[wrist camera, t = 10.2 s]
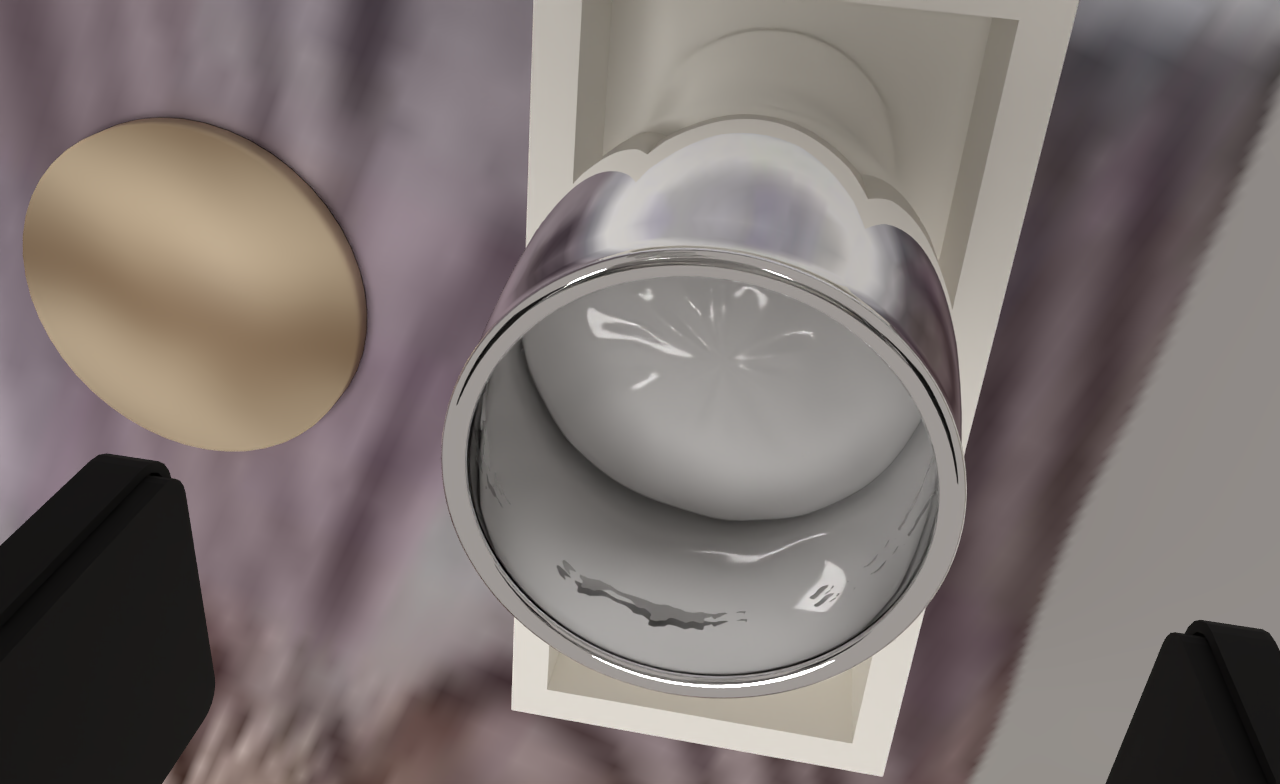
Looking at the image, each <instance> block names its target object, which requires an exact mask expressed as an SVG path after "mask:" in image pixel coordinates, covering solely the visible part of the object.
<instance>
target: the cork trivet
mask: <svg viewBox="0 0 1280 784" xmlns="http://www.w3.org/2000/svg"><path fill="white" fill-rule="evenodd" d="M23 259H24V267H25V274H26V279H27V283H28V287H29V291H30V295H31V298H32V301H33V303H34V306H35V308H36V311H37V314H38V316H39V318H40V320H41V322H42V324H43V326H44V328H45V330H46V332H47V334H48V336H49V338H50V339H51V341H52V342H53V344H54V345H55V347H56V349H57V350H58V352H59V353H60V355H61V356H62V358H63V359H64V360H65V361H66V363H67V364H68V365H69V366H70V368H71V369H72V370H73V371H74V373H75V374H76V375H77V376H78V377H79V378H80V379H81V380H82V381H83V382H84V383H85V384H86V385H87V386H88V387H89V388H90V389H91V390H92V391H93V392H94V393H95V394H96V395H97V396H99V397H100V398H101V399H102V400H103V401H104V402H106V403H107V404H108V405H109V406H111V407H112V408H113V409H115V410H116V411H118V412H119V413H120V414H122V415H123V416H125V417H126V418H128V419H129V420H131V421H133V422H135V423H136V424H138V425H140V426H142V427H143V428H145V429H147V430H149V431H151V432H154V433H156V434H158V435H160V436H162V437H165V438H167V439H170V440H173V441H176V442H179V443H182V444H185V445H189V446H194V447H198V448H203V449H208V450H218V451H250V450H256V449H263V448H267V447H271V446H274V445H277V444H281V443H284V442H286V441H288V440H290V439H292V438H294V437H296V436H299V435H300V434H302V433H303V432H305V431H306V430H308V429H309V428H311V427H312V426H314V425H315V424H316V423H317V422H318V421H319V420H320V419H321V418H322V417H323V416H324V415H325V414H326V413H327V412H328V411H329V410H330V409H331V408H332V407H333V405H334V404H335V403H336V402H337V401H338V399H339V398H340V397H341V395H342V394H343V393H344V391H345V390H346V389H347V387H348V386H349V384H350V382H351V381H352V379H353V377H354V375H355V373H356V371H357V369H358V366H359V363H360V360H361V357H362V354H363V350H364V344H365V338H366V328H367V309H366V300H365V291H364V287H363V283H362V279H361V275H360V271H359V268H358V265H357V262H356V260H355V257H354V254H353V252H352V249H351V247H350V245H349V243H348V241H347V239H346V237H345V235H344V233H343V231H342V230H341V228H340V226H339V225H338V223H337V222H336V220H335V219H334V217H333V215H332V214H331V212H330V211H329V209H328V208H327V207H326V205H325V204H324V203H323V202H322V201H321V199H320V198H319V197H318V196H317V195H316V193H315V192H314V191H313V190H312V189H311V187H310V186H309V185H307V184H306V183H305V182H304V181H303V180H302V179H301V178H300V177H299V176H298V175H297V174H296V173H295V172H294V171H293V170H292V169H290V168H289V167H288V166H287V165H285V164H284V163H283V162H281V161H280V160H279V159H278V158H276V157H275V156H274V155H272V154H271V153H269V152H268V151H266V150H264V149H263V148H261V147H259V146H258V145H256V144H254V143H253V142H251V141H249V140H247V139H245V138H243V137H241V136H238V135H236V134H234V133H232V132H230V131H227V130H224V129H221V128H218V127H215V126H212V125H209V124H206V123H202V122H196V121H191V120H186V119H177V118H148V119H138V120H134V121H129V122H125V123H121V124H118V125H115V126H113V127H111V128H108V129H106V130H104V131H101V132H99V133H97V134H94V135H92V136H90V137H88V138H85V139H83V140H81V141H80V142H78V143H77V144H75V145H74V146H72V147H71V148H69V149H67V150H66V151H65V152H64V153H63V154H62V155H61V156H60V157H58V158H57V159H56V160H55V161H54V162H53V163H52V164H51V165H50V167H49V168H48V169H47V171H46V172H45V174H44V175H43V176H42V178H41V179H40V181H39V183H38V185H37V187H36V189H35V191H34V193H33V195H32V197H31V200H30V203H29V207H28V210H27V213H26V218H25V224H24V231H23Z"/></svg>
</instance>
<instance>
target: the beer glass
mask: <svg viewBox="0 0 1280 784" xmlns="http://www.w3.org/2000/svg"><path fill="white" fill-rule="evenodd" d="M894 172H895V140H894V133H893V129H892V125H891V121H890V118H889V115H888V112H887V110H886V107H885V105H884V103H883V101H882V99H881V97H880V95H879V93H878V92H877V90H876V88H875V87H874V85H873V84H872V82H871V81H870V80H869V79H868V77H867V76H866V75H865V74H864V72H863V71H862V70H861V69H860V68H859V67H858V66H857V65H856V64H855V63H854V62H853V61H851V60H850V59H849V58H848V57H847V56H845V55H844V54H843V53H841V52H840V51H838V50H837V49H835V48H833V47H831V46H830V45H828V44H826V43H824V42H822V41H819V40H817V39H814V38H812V37H809V36H806V35H802V34H798V33H793V32H787V31H779V30H757V31H749V32H743V33H738V34H734V35H731V36H728V37H724V38H722V39H719V40H717V41H715V42H712V43H710V44H708V45H706V46H705V47H703V48H701V49H699V50H698V51H696V52H695V53H693V54H692V55H690V56H689V57H688V58H687V59H685V60H684V61H683V62H682V63H681V64H680V65H679V66H678V67H677V68H676V69H675V70H674V71H673V72H672V73H671V74H670V75H669V76H668V77H667V79H666V80H665V81H664V82H663V84H662V85H661V87H660V88H659V90H658V91H657V93H656V95H655V97H654V98H653V100H652V102H651V105H650V107H649V109H648V111H647V114H646V117H645V120H644V123H643V126H642V129H641V130H639V131H638V132H636V133H634V134H633V135H631V136H630V137H629V138H627V139H626V140H624V141H623V142H622V143H620V144H619V145H617V146H616V147H615V148H613V149H612V150H610V151H609V152H608V153H606V154H605V155H604V156H602V157H601V158H600V159H598V160H597V161H596V162H595V163H594V164H592V165H591V166H590V167H589V168H588V169H587V170H586V171H585V172H584V173H583V174H582V175H581V176H580V177H579V178H578V179H577V180H576V181H575V182H574V184H573V185H572V186H571V187H570V188H569V189H568V191H567V192H566V193H565V194H564V195H563V197H562V198H561V199H560V200H559V201H558V203H557V204H556V205H555V206H554V207H553V209H552V210H551V211H550V212H549V213H548V215H547V216H546V217H545V219H544V220H543V221H542V223H541V224H540V226H539V227H538V229H537V230H536V232H535V233H534V235H533V237H532V238H531V240H530V242H529V243H528V245H527V247H526V248H525V250H524V252H523V253H522V255H521V257H520V258H519V260H518V262H517V263H516V265H515V267H514V268H513V270H512V272H511V274H510V276H509V278H508V280H507V282H506V284H505V286H504V288H503V290H502V292H501V294H500V296H499V298H498V301H497V303H496V305H495V307H494V309H493V311H492V313H491V315H490V317H489V320H488V322H487V324H486V327H485V329H484V331H483V334H482V336H481V338H480V341H479V343H478V345H477V346H476V348H475V349H474V351H473V352H472V354H471V355H470V357H469V359H468V360H467V362H466V364H465V366H464V368H463V369H462V371H461V373H460V375H459V378H458V380H457V382H456V384H455V387H454V389H453V392H452V395H451V398H450V401H449V405H448V408H447V412H446V417H445V422H444V428H443V435H442V445H441V469H442V480H443V487H444V493H445V498H446V502H447V506H448V510H449V514H450V517H451V520H452V523H453V526H454V528H455V531H456V533H457V536H458V538H459V541H460V543H461V545H462V547H463V549H464V551H465V553H466V555H467V556H468V558H469V560H470V562H471V563H472V565H473V567H474V568H475V570H476V571H477V573H478V574H479V576H480V577H481V579H482V580H483V582H484V583H485V584H486V586H487V587H488V588H489V590H490V591H491V592H492V593H493V595H494V596H495V597H496V598H497V599H498V600H499V602H500V603H501V604H502V605H503V606H504V607H505V608H506V609H507V610H508V611H509V612H510V613H511V614H512V615H513V616H514V617H515V618H516V619H517V620H518V621H519V622H520V623H522V624H523V625H524V626H525V627H526V628H527V629H529V630H530V631H531V632H532V633H533V634H535V635H536V636H537V637H539V638H540V639H541V640H543V641H544V642H545V643H547V644H548V645H550V646H551V647H553V648H554V649H556V650H557V651H559V652H561V653H562V654H564V655H566V656H567V657H569V658H571V659H572V660H574V661H576V662H578V663H580V664H582V665H584V666H586V667H588V668H590V669H592V670H594V671H597V672H599V673H601V674H603V675H606V676H609V677H611V678H614V679H616V680H619V681H622V682H625V683H628V684H631V685H634V686H638V687H641V688H645V689H649V690H653V691H658V692H663V693H668V694H674V695H681V696H688V697H699V698H747V697H758V696H765V695H772V694H778V693H783V692H787V691H791V690H796V689H799V688H803V687H806V686H810V685H813V684H816V683H819V682H821V681H824V680H827V679H829V678H832V677H834V676H837V675H839V674H841V673H843V672H845V671H847V670H849V669H851V668H853V667H855V666H857V665H858V664H860V663H862V662H864V661H865V660H867V659H869V658H870V657H872V656H873V655H875V654H876V653H878V652H879V651H881V650H882V649H884V648H885V647H886V646H888V645H889V644H890V643H891V642H893V641H894V640H895V639H896V638H897V637H898V636H900V635H901V634H902V633H903V632H904V631H905V630H906V629H907V628H908V627H909V626H910V625H911V624H912V623H913V622H914V621H915V620H916V619H917V618H918V617H919V615H920V614H921V613H922V612H923V611H924V609H925V608H926V607H927V605H928V604H929V603H930V601H931V600H932V598H933V597H934V595H935V594H936V593H937V591H938V589H939V588H940V586H941V584H942V583H943V581H944V579H945V577H946V575H947V573H948V571H949V569H950V566H951V564H952V562H953V559H954V557H955V554H956V551H957V548H958V545H959V542H960V538H961V534H962V530H963V525H964V519H965V512H966V500H967V479H966V467H965V459H964V454H963V448H962V405H961V380H960V363H959V355H958V348H957V341H956V333H955V326H954V319H953V313H952V307H951V303H950V298H949V295H948V291H947V288H946V285H945V281H944V278H943V275H942V272H941V268H940V265H939V262H938V258H937V255H936V252H935V250H934V247H933V244H932V242H931V239H930V237H929V235H928V233H927V231H926V229H925V227H924V225H923V223H922V221H921V219H920V218H919V216H918V214H917V213H916V211H915V210H914V208H913V206H912V205H911V203H910V202H909V200H908V198H907V197H906V195H905V194H904V192H903V190H902V189H901V187H900V186H899V184H898V183H897V182H896V180H895V179H894Z"/></svg>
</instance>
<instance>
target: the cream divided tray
mask: <svg viewBox="0 0 1280 784" xmlns="http://www.w3.org/2000/svg"><path fill="white" fill-rule="evenodd" d="M1078 4H1079V0H534V1H533V33H532V65H531V97H530V129H529V162H528V194H527V226H526V247H527V245H528V243H529V242H530V240H531V238H532V237H533V235H534V233H535V232H536V230H537V229H538V227H539V226H540V224H541V223H542V221H543V220H544V219H545V217H546V216H547V215H548V213H549V212H550V211H551V210H552V209H553V207H554V206H555V205H556V204H557V203H558V201H559V200H560V199H561V198H562V197H563V195H564V194H565V193H566V192H567V191H568V189H569V188H570V187H571V186H572V185H573V184H574V182H575V181H576V180H577V179H578V178H579V177H580V176H581V175H582V174H583V173H584V172H585V171H586V170H587V169H588V168H589V167H590V166H591V165H592V164H594V163H595V162H596V161H597V160H598V159H600V158H601V157H602V156H604V155H605V154H606V153H608V152H609V151H610V150H612V149H613V148H615V147H616V146H617V145H619V144H620V143H622V142H623V141H624V140H626V139H627V138H629V137H630V136H631V135H633V134H634V133H636V132H638V131H639V130H641V129H642V126H643V123H644V120H645V117H646V114H647V111H648V109H649V107H650V105H651V102H652V100H653V98H654V97H655V95H656V93H657V91H658V90H659V88H660V87H661V85H662V84H663V82H664V81H665V80H666V79H667V77H668V76H669V75H670V74H671V73H672V72H673V71H674V70H675V69H676V68H677V67H678V66H679V65H680V64H681V63H682V62H683V61H684V60H685V59H687V58H688V57H689V56H690V55H692V54H693V53H695V52H696V51H698V50H699V49H701V48H703V47H705V46H706V45H708V44H710V43H712V42H715V41H717V40H719V39H722V38H724V37H728V36H731V35H734V34H738V33H743V32H749V31H757V30H779V31H787V32H793V33H798V34H802V35H806V36H809V37H812V38H814V39H817V40H819V41H822V42H824V43H826V44H828V45H830V46H831V47H833V48H835V49H837V50H838V51H840V52H841V53H843V54H844V55H845V56H847V57H848V58H849V59H850V60H851V61H853V62H854V63H855V64H856V65H857V66H858V67H859V68H860V69H861V70H862V71H863V72H864V74H865V75H866V76H867V77H868V79H869V80H870V81H871V82H872V84H873V85H874V87H875V88H876V90H877V92H878V93H879V95H880V97H881V99H882V101H883V103H884V105H885V107H886V110H887V112H888V115H889V118H890V121H891V125H892V129H893V133H894V140H895V172H894V179H895V180H896V182H897V183H898V184H899V186H900V187H901V189H902V190H903V192H904V194H905V195H906V197H907V198H908V200H909V202H910V203H911V205H912V206H913V208H914V210H915V211H916V213H917V214H918V216H919V218H920V219H921V221H922V223H923V225H924V227H925V229H926V231H927V233H928V235H929V237H930V239H931V242H932V244H933V247H934V250H935V252H936V255H937V258H938V262H939V265H940V268H941V272H942V275H943V278H944V281H945V285H946V288H947V291H948V295H949V298H950V303H951V307H952V313H953V319H954V326H955V333H956V341H957V348H958V355H959V363H960V380H961V405H962V448H963V454H965V450H966V446H967V442H968V438H969V434H970V430H971V426H972V422H973V418H974V414H975V410H976V407H977V403H978V399H979V395H980V391H981V387H982V383H983V379H984V375H985V371H986V367H987V363H988V359H989V355H990V351H991V347H992V343H993V339H994V335H995V331H996V328H997V324H998V320H999V316H1000V312H1001V308H1002V304H1003V300H1004V296H1005V292H1006V288H1007V284H1008V280H1009V276H1010V272H1011V268H1012V264H1013V260H1014V256H1015V252H1016V248H1017V245H1018V241H1019V237H1020V233H1021V229H1022V225H1023V221H1024V217H1025V213H1026V209H1027V205H1028V201H1029V197H1030V193H1031V189H1032V185H1033V181H1034V177H1035V173H1036V169H1037V166H1038V162H1039V158H1040V154H1041V150H1042V146H1043V142H1044V138H1045V134H1046V130H1047V126H1048V122H1049V118H1050V114H1051V110H1052V106H1053V102H1054V98H1055V94H1056V90H1057V87H1058V83H1059V79H1060V75H1061V71H1062V67H1063V63H1064V59H1065V55H1066V51H1067V47H1068V43H1069V39H1070V35H1071V31H1072V27H1073V23H1074V19H1075V15H1076V11H1077V8H1078ZM924 612H925V609H924V611H923V612H922V613H921V614H920V615H919V617H918V618H917V619H916V620H915V621H914V622H913V623H912V624H911V625H910V626H909V627H908V628H907V629H906V630H905V631H904V632H903V633H902V634H901V635H900V636H898V637H897V638H896V639H895V640H894V641H893V642H891V643H890V644H889V645H888V646H886V647H885V648H884V649H882V650H881V651H879V652H878V653H876V654H875V655H873V656H872V657H870V658H869V659H867V660H865V661H864V662H862V663H860V664H858V665H857V666H855V667H853V668H851V669H849V670H847V671H845V672H843V673H841V674H839V675H837V676H834V677H832V678H829V679H827V680H824V681H821V682H819V683H816V684H813V685H810V686H806V687H803V688H799V689H796V690H791V691H787V692H783V693H778V694H772V695H765V696H758V697H747V698H699V697H688V696H681V695H674V694H668V693H663V692H658V691H653V690H649V689H645V688H641V687H638V686H634V685H631V684H628V683H625V682H622V681H619V680H616V679H614V678H611V677H609V676H606V675H603V674H601V673H599V672H597V671H594V670H592V669H590V668H588V667H586V666H584V665H582V664H580V663H578V662H576V661H574V660H572V659H571V658H569V657H567V656H566V655H564V654H562V653H561V652H559V651H557V650H556V649H554V648H553V647H551V646H550V645H548V644H547V643H545V642H544V641H543V640H541V639H540V638H539V637H537V636H536V635H535V634H533V633H532V632H531V631H530V630H529V629H527V628H526V627H525V626H524V625H523V624H522V623H520V622H519V621H518V620H517V619H516V618H515V617H514V643H513V675H512V707H511V710H515V711H520V712H526V713H532V714H537V715H543V716H548V717H554V718H559V719H565V720H570V721H576V722H582V723H587V724H593V725H598V726H604V727H609V728H615V729H620V730H626V731H632V732H637V733H643V734H648V735H654V736H659V737H665V738H670V739H676V740H682V741H687V742H693V743H698V744H704V745H709V746H715V747H721V748H726V749H732V750H737V751H743V752H748V753H754V754H759V755H765V756H771V757H776V758H782V759H787V760H793V761H798V762H804V763H809V764H815V765H821V766H826V767H832V768H837V769H843V770H848V771H854V772H859V773H865V774H871V775H876V776H882V777H883V774H884V770H885V766H886V762H887V758H888V754H889V750H890V746H891V742H892V738H893V734H894V730H895V726H896V723H897V719H898V715H899V711H900V707H901V703H902V699H903V695H904V691H905V687H906V683H907V679H908V675H909V671H910V667H911V663H912V659H913V655H914V651H915V647H916V644H917V640H918V636H919V632H920V628H921V624H922V620H923V616H924Z"/></svg>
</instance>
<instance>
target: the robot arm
mask: <svg viewBox="0 0 1280 784" xmlns="http://www.w3.org/2000/svg"><path fill="white" fill-rule="evenodd" d="M214 690H215V676H214V670H213V664H212V657H211V651H210V645H209V638H208V632H207V626H206V619H205V613H204V607H203V600H202V594H201V588H200V581H199V575H198V569H197V562H196V556H195V550H194V543H193V537H192V531H191V524H190V518H189V512H188V505H187V499H186V493H185V489H184V486H183V484H182V483H181V482H180V481H179V480H177V479H172V478H171V476H170V473H169V470H168V469H167V467H166V466H165V465H164V464H163V463H161V462H158V461H153V460H146V459H140V458H133V457H127V456H120V455H113V454H101V455H98V456H96V457H95V458H93V459H92V460H91V461H90V462H88V463H87V464H86V465H85V466H84V467H83V468H82V469H81V470H80V471H79V472H78V473H77V474H76V475H75V476H74V477H73V478H72V479H70V480H69V481H68V482H67V483H66V484H65V485H64V486H63V487H62V488H61V489H60V490H59V491H58V492H57V493H56V494H55V495H54V496H52V497H51V498H50V499H49V500H48V501H47V502H46V503H45V504H44V505H43V506H42V507H41V508H40V509H39V510H38V511H37V512H35V513H34V514H33V515H32V516H31V517H30V518H29V519H28V520H27V521H26V522H25V523H24V524H23V525H22V526H21V527H20V528H19V529H17V530H16V531H15V532H14V533H13V534H12V535H11V536H10V537H9V538H8V539H7V540H6V541H5V542H4V543H3V544H2V545H1V546H0V784H162V783H163V781H164V780H165V778H166V777H167V775H168V774H169V772H170V771H171V769H172V768H173V766H174V765H175V763H176V762H177V760H178V759H179V757H180V755H181V754H182V752H183V751H184V749H185V748H186V746H187V745H188V743H189V742H190V740H191V739H192V737H193V736H194V734H195V733H196V731H197V730H198V728H199V727H200V725H201V724H202V722H203V720H204V719H205V717H206V715H207V713H208V711H209V709H210V706H211V704H212V700H213V696H214ZM1106 784H1280V650H1279V648H1278V646H1277V644H1276V642H1275V641H1274V639H1273V638H1272V636H1271V635H1270V633H1268V632H1266V631H1264V630H1263V629H1257V628H1250V627H1244V626H1237V625H1231V624H1224V623H1217V622H1211V621H1204V620H1198V621H1194V622H1193V623H1192V624H1191V625H1190V626H1189V627H1188V629H1187V631H1186V632H1185V634H1182V633H1176V632H1175V633H1170V634H1169V635H1168V636H1167V637H1166V639H1165V641H1164V642H1163V644H1162V647H1161V649H1160V652H1159V654H1158V657H1157V659H1156V661H1155V664H1154V667H1153V669H1152V672H1151V674H1150V676H1149V679H1148V681H1147V684H1146V686H1145V688H1144V691H1143V693H1142V696H1141V698H1140V701H1139V703H1138V706H1137V708H1136V710H1135V713H1134V715H1133V718H1132V720H1131V723H1130V725H1129V728H1128V730H1127V733H1126V735H1125V737H1124V740H1123V742H1122V745H1121V747H1120V750H1119V752H1118V755H1117V757H1116V760H1115V762H1114V764H1113V767H1112V769H1111V772H1110V774H1109V777H1108V779H1107V782H1106Z"/></svg>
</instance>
